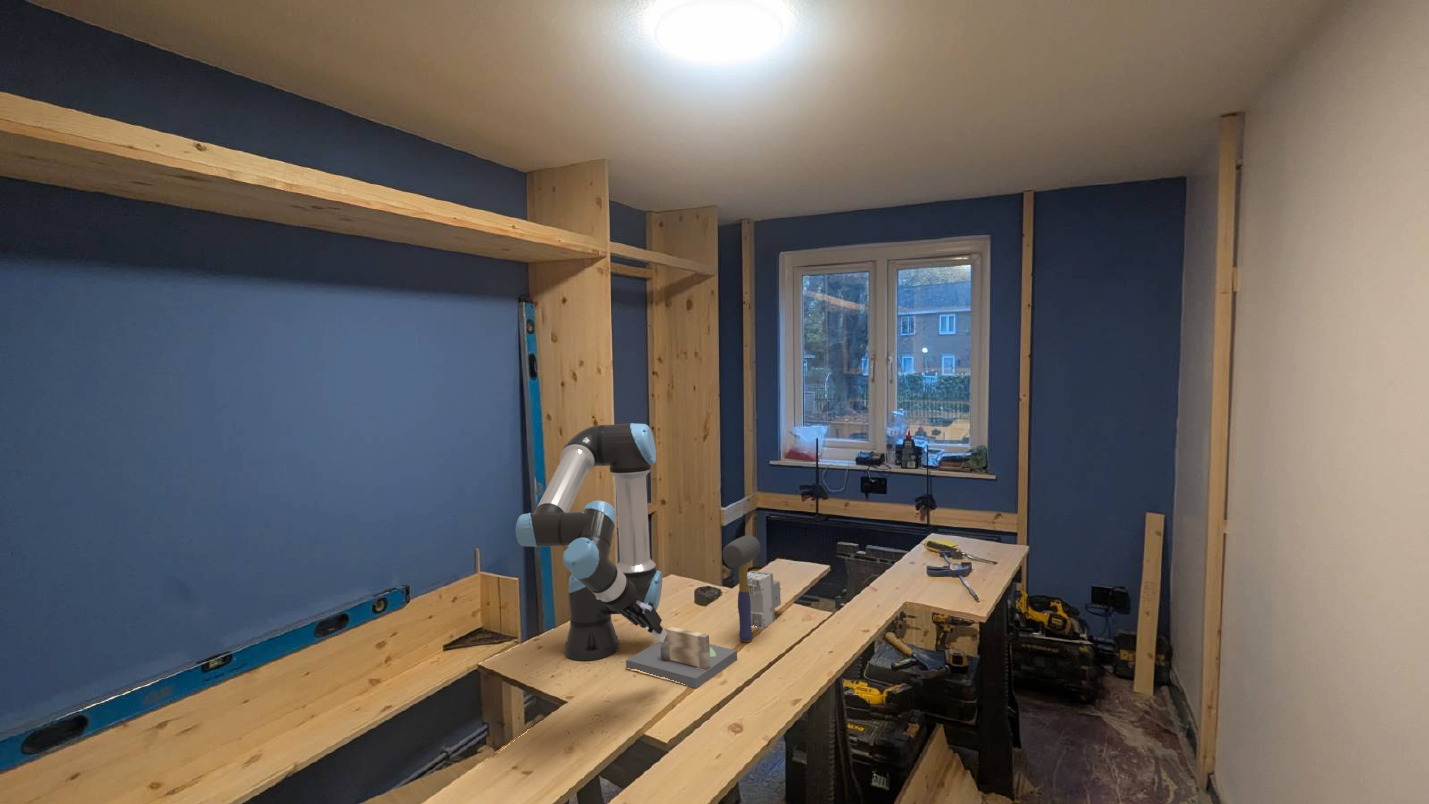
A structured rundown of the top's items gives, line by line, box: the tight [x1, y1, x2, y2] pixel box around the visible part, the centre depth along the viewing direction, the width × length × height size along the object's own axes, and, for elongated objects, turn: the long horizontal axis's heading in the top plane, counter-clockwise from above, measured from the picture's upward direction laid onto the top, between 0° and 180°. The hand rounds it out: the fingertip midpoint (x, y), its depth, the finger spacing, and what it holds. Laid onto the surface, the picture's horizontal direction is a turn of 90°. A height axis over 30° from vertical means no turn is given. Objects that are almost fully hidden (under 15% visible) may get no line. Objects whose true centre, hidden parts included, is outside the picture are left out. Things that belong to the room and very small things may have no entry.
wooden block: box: [660, 626, 710, 669], centre depth 166 cm, size 15×4×8 cm, turn 56°
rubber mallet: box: [722, 535, 761, 643], centre depth 185 cm, size 12×8×30 cm, turn 151°
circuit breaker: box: [747, 570, 782, 630], centre depth 201 cm, size 8×14×15 cm, turn 148°
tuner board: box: [625, 641, 738, 689], centre depth 171 cm, size 23×19×2 cm
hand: (662, 636), depth 158 cm, fingers closed
